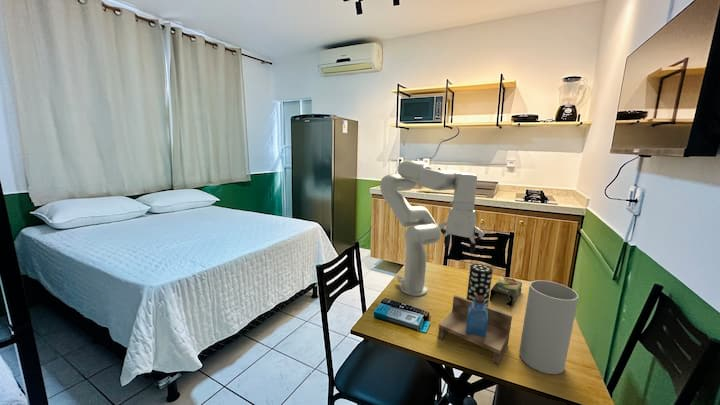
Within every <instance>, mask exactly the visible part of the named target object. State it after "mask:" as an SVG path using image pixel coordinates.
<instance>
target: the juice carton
mask: <svg viewBox="0 0 720 405" xmlns="http://www.w3.org/2000/svg"><path fill="white" fill-rule="evenodd" d="M522 282H523V281H520V280H516V279H514V278H509V277H505V276H501V278H499V280H498V281H497V282H496V283H495V284H494V285H493V287H492V288H490V295H489V302H490V301H491V302H492V300H491V299H492V297H493V296H494V295H495V294H496V293H499V294H503V295H504V296H509V301H508V302H506V305H507V306H508V307H513V306H514V304H515V302H516V301H517V298H518V296H520V294H521V292H522V286H523V283H522ZM519 293H520V294H519Z"/></svg>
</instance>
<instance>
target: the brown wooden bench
mask: <svg viewBox="0 0 720 405" xmlns="http://www.w3.org/2000/svg"><path fill="white" fill-rule="evenodd" d="M472 303H474V302H473V301H471V300H468V299H467V298H465V297H462V296H460V295H457V294H454V295H453V301H452V308H451V309H452V310H451V311H450V312H449V313H448V314H447V315H446V316H445V317H444V319H443V320H442V321H440V323H439V325H438V335H437V339H438V340H441V341H443V340H444V339H445V338H446V337H447V336H448V335H449V334H450V333H451V334H453V335H455V336H458V337H460V338H462V339H464V340H467V341H469V342H471V343H473V344H475V345H478V346H481V348H485V349H488V350H489V351H492V352H493V359H492V365H494V366H496V367H499V365H500V362H502V361H501V360H502V359H503V356H504V354H505V352H506V350H507V348H508V347H509V346H508V345H509V342H510V341H509V340H510V333H511V326H512V321H513V320H512V319H513V314H510V313H508V312H505V311H501V310H499V309H497V308H496V309H495V308H493V307H490V306H489V305H488V306H485V307H486V309H487V311H488V324H487V331H486V338H484V337H481V336H477V335H473V334H469V333H466V325H467V316H468V308H469V306H470V305H471V304H472Z"/></svg>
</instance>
